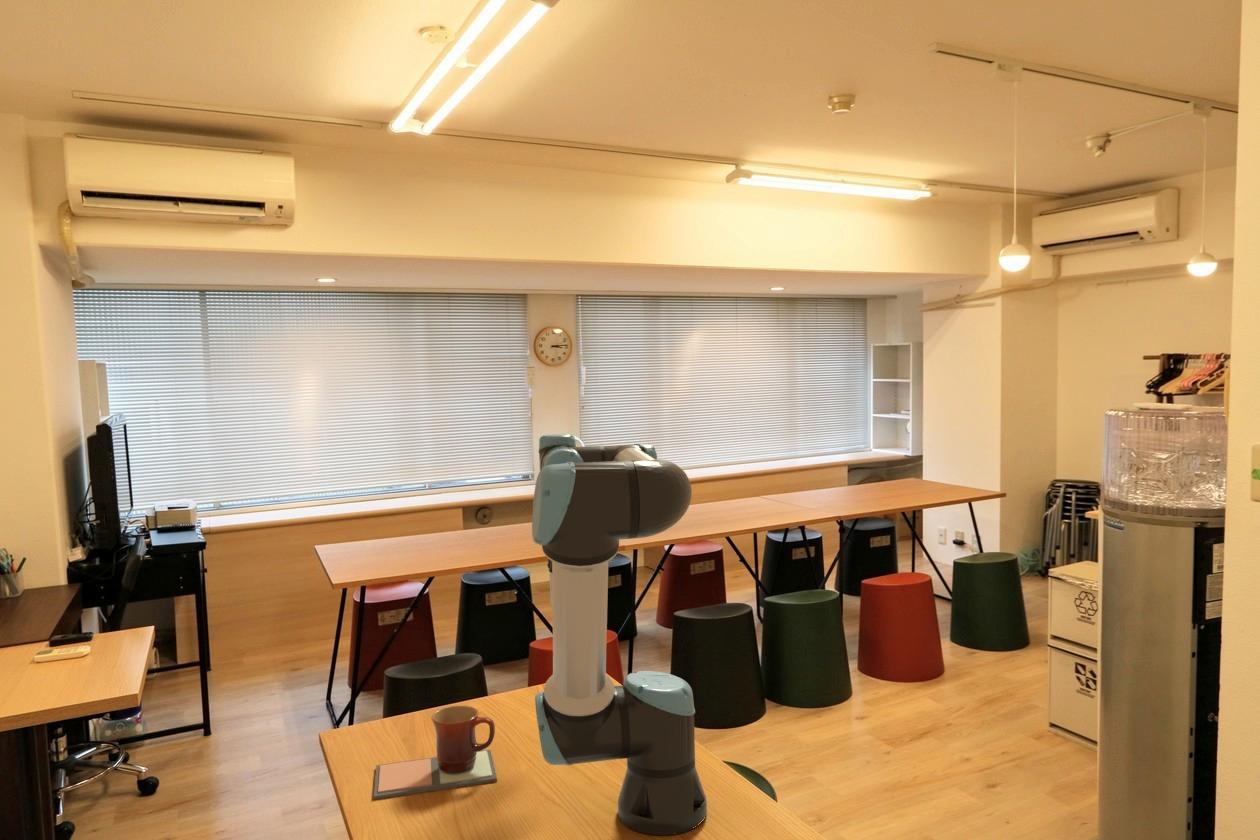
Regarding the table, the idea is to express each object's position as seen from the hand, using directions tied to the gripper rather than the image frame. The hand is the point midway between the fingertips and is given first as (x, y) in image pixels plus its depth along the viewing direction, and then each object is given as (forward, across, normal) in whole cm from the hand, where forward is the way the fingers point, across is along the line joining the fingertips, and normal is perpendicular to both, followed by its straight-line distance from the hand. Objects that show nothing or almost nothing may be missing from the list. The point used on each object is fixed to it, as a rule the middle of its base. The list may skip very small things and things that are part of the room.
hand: (562, 611), depth 174 cm
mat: (+27, -8, +27) cm, 39 cm away
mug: (+26, -8, +21) cm, 35 cm away
